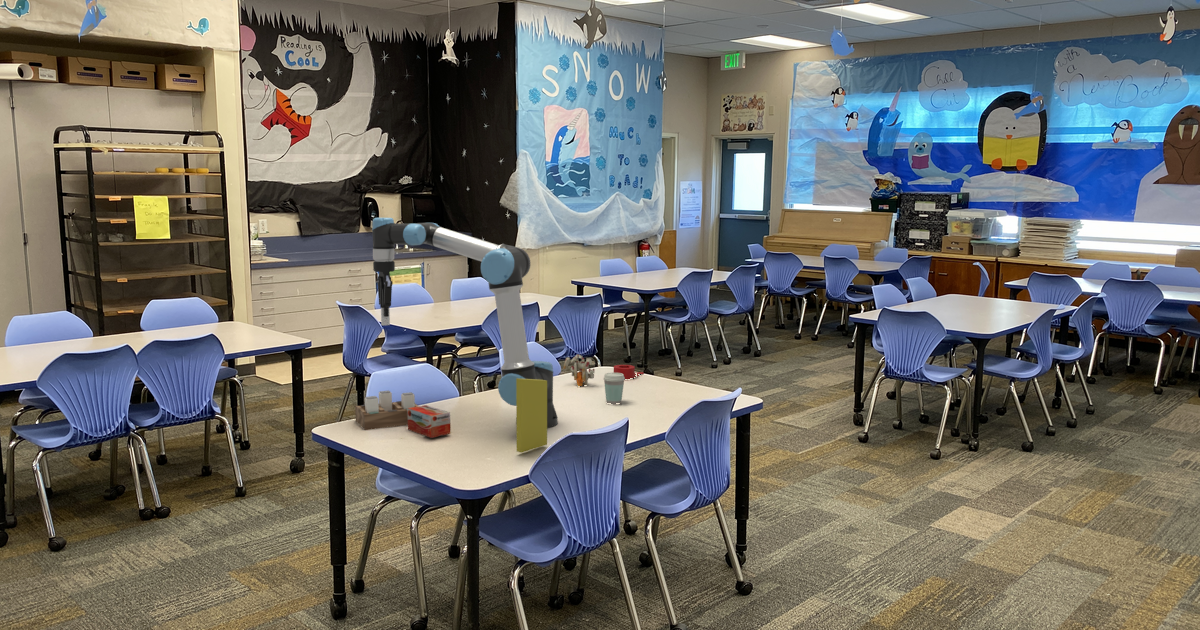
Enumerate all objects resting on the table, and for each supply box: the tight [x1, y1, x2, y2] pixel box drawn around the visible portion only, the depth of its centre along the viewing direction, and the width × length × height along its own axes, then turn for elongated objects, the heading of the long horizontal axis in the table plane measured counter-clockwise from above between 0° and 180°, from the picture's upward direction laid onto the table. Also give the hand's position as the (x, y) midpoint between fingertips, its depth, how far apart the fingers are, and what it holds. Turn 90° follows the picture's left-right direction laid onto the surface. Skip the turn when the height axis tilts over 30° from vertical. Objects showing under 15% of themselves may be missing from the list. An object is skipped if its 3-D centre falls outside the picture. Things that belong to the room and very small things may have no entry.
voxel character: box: [562, 354, 596, 387], centre depth 366 cm, size 11×10×15 cm
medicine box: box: [407, 404, 452, 439], centre depth 298 cm, size 15×8×8 cm, turn 46°
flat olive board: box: [515, 378, 548, 454], centre depth 279 cm, size 12×2×24 cm, turn 141°
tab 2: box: [378, 389, 393, 411], centre depth 312 cm, size 3×4×7 cm
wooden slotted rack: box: [354, 400, 419, 431], centre depth 310 cm, size 14×20×6 cm
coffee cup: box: [603, 372, 626, 404], centre depth 340 cm, size 8×8×12 cm
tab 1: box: [364, 395, 379, 413], centre depth 304 cm, size 3×4×7 cm
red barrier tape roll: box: [613, 364, 645, 379], centre depth 387 cm, size 18×9×7 cm, turn 139°
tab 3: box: [400, 392, 416, 409], centre depth 310 cm, size 3×4×7 cm
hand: (385, 325), depth 314 cm, fingers closed
